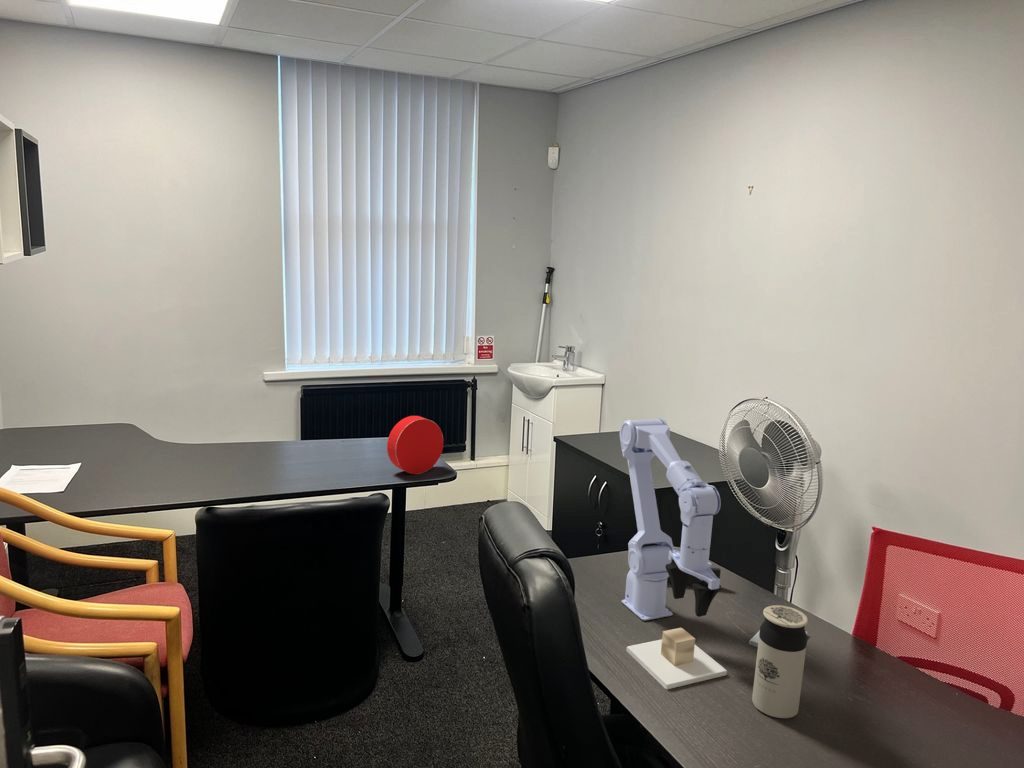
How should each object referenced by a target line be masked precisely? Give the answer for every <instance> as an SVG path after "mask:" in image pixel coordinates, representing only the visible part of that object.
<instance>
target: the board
mask: <svg viewBox="0 0 1024 768" xmlns="http://www.w3.org/2000/svg"><path fill="white" fill-rule="evenodd" d="M661 647H662V638H661V639H658V640H657V639H656V640H652V641H648V642H647V641H646V642H643V643H638V644H632V645H628V646H626V648H625V649H626V650H625V651H626V653H628V654H629V655H630V656H631V658H633V659H634V660H635V661H636V662H637V663H638V664H639V665H641V667H642V668H643V669H644V670H645V671H646V672H648V674H649V675H651V676H652V677H653V678H654V679H655V681H657V682H658V683H659V684H660V685H661V686H662V687H663V688H664V689H665V690H670V689H675V688H677V687H678V688H679V687H682V686H683V687H684V686H687V685H691V684H695V683H700V682H703V681H707V680H708V681H709V680H712V679H715V678H717V679H718V678H719V677H724V676H727V672H728V671H727V669H725V668H724V666H722V665H721V664H720V663H718V662H717V661H716V660H714V659H713V658H712V657H711V656H710V655H708V654H707V653H706V652H705V651H704V650H703V649H701V648H700V647H698V645H696V644H695V646H694V657H693V662H690V663H686V664H681V665H677V666H674V665H672V664H671V663H670V662H669V661H668V660H667V659H666V658H665V657H663V656H662V655H661Z"/></svg>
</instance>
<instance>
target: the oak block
mask: <svg viewBox="0 0 1024 768" xmlns="http://www.w3.org/2000/svg"><path fill="white" fill-rule="evenodd" d="M661 639H662V647H661V655H662V656H663V657H665V658H666V659H667V660H668V661H669V662H670V663H671V664H672V665H674V666H677V665H681V664H686V663H690V662H693V657H694V646H695V645H696V638H695V637H694V636H693V635H691V634H690V633H689V632H688V631H687V630H685V629H684V628H682V627H678V628H672V629H667V630H663V631H662V637H661Z"/></svg>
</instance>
